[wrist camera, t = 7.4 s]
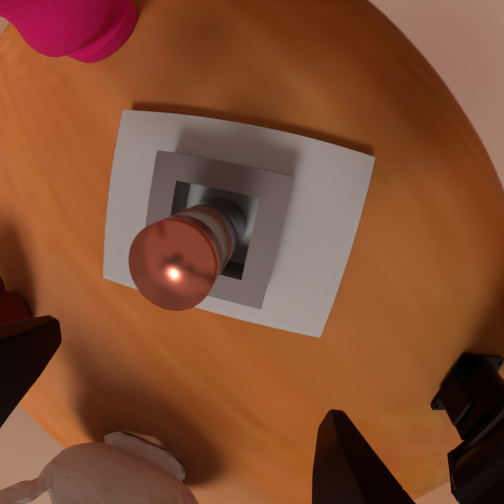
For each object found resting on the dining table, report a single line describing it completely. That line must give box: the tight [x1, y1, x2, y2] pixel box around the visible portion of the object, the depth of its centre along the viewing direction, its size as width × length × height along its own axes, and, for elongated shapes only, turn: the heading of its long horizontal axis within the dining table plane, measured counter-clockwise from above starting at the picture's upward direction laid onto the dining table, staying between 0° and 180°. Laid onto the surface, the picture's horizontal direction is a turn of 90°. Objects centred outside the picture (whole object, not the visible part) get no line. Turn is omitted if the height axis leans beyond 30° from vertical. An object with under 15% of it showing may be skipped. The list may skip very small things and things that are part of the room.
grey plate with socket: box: [103, 110, 375, 338], centre depth 16 cm, size 16×12×4 cm
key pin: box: [128, 197, 247, 311], centre depth 13 cm, size 3×3×8 cm
